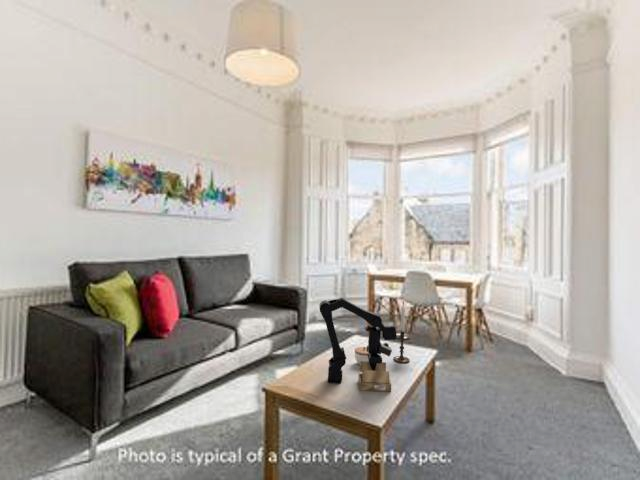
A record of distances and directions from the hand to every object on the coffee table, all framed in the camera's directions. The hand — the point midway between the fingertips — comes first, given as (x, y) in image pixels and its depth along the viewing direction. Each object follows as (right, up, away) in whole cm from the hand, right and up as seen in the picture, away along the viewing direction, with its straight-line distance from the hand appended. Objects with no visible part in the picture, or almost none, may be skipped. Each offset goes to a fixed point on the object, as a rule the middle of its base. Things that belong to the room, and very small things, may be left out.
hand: (373, 371), depth 172 cm
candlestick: (+21, -5, +29) cm, 36 cm away
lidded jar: (-2, -5, +23) cm, 23 cm away
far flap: (0, +1, +1) cm, 2 cm away
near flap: (-1, +1, -10) cm, 10 cm away
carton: (0, -5, -5) cm, 7 cm away
